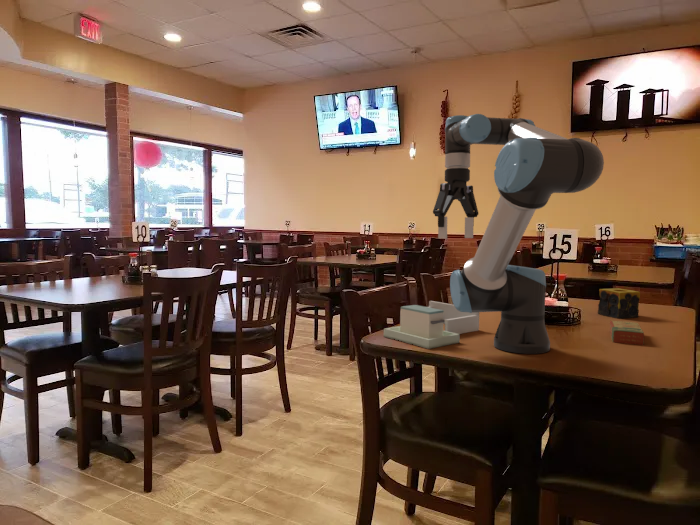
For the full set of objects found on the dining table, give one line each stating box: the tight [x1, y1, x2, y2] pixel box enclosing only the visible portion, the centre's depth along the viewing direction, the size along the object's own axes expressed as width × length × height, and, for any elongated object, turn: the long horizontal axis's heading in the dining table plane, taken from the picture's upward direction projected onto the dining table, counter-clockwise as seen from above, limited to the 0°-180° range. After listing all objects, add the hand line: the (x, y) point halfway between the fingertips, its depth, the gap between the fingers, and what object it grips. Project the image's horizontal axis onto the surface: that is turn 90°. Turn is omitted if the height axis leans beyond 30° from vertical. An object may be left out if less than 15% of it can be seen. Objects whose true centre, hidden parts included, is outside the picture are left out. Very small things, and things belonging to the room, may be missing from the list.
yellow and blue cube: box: [597, 287, 641, 320], centre depth 199 cm, size 10×10×10 cm
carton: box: [609, 320, 645, 346], centre depth 161 cm, size 8×16×4 cm, turn 157°
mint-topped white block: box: [399, 304, 445, 339], centre depth 156 cm, size 13×6×9 cm, turn 37°
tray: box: [383, 325, 461, 350], centre depth 157 cm, size 19×13×2 cm
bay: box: [399, 300, 480, 335], centre depth 175 cm, size 21×15×7 cm
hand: (456, 238), depth 160 cm, fingers open, 13 cm apart
